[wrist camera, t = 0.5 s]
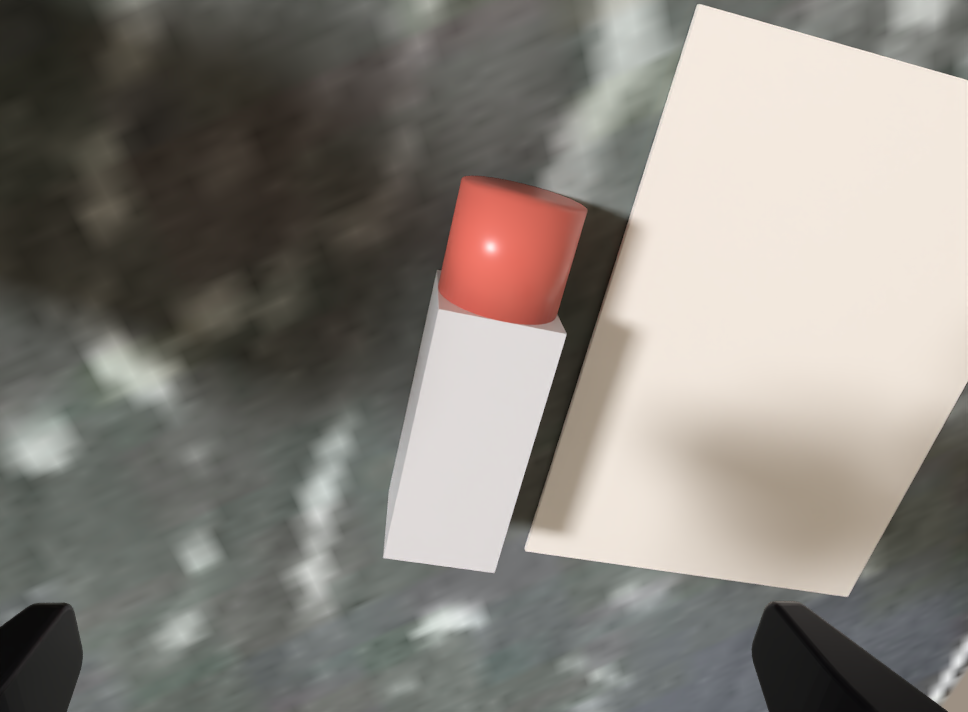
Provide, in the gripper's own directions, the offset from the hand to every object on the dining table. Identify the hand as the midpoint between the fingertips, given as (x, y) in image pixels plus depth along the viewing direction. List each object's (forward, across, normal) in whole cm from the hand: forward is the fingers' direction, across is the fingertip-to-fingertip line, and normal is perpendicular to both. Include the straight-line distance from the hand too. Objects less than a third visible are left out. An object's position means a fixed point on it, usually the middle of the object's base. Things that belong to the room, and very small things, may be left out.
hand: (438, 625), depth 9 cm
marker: (+13, -2, +2) cm, 13 cm away
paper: (+13, -12, +2) cm, 18 cm away
